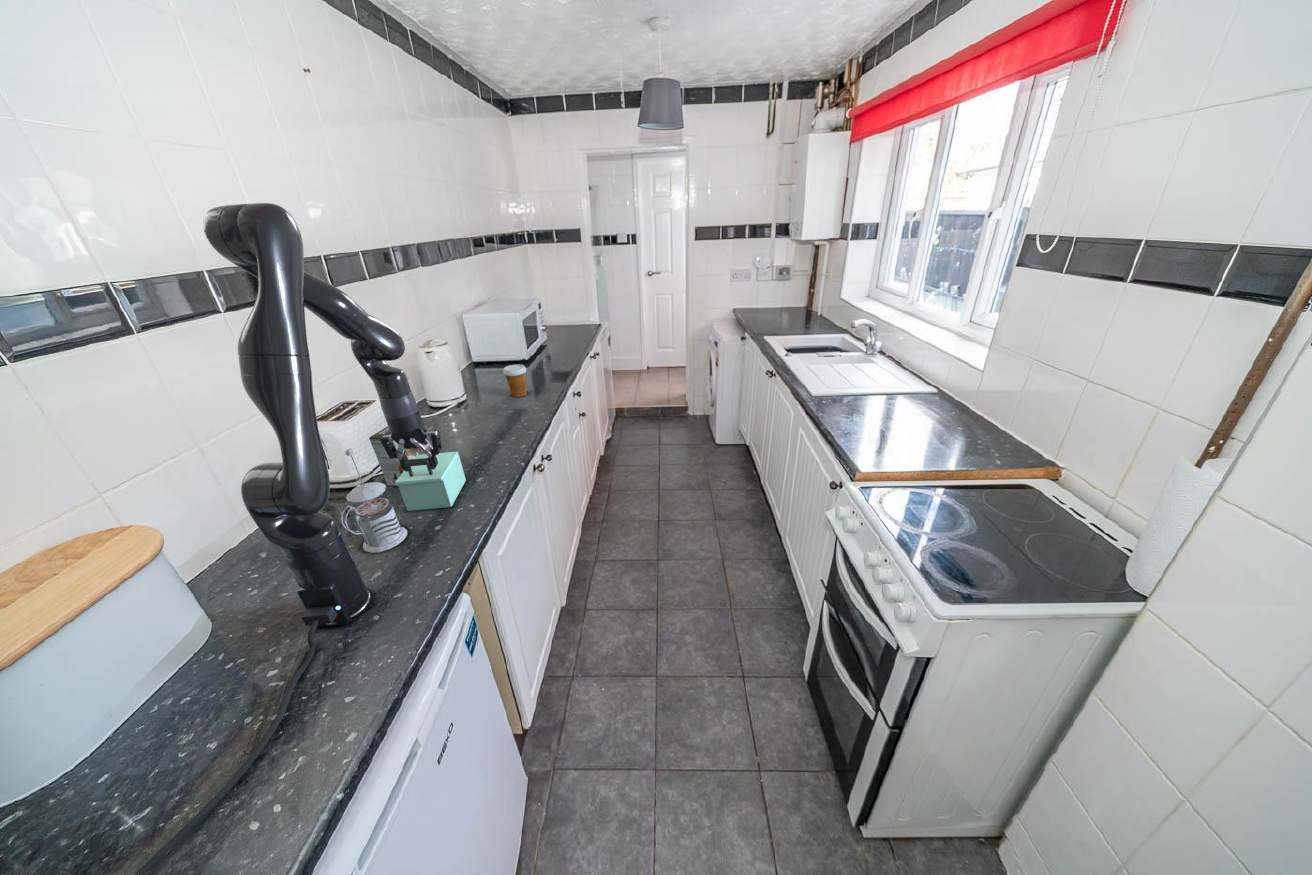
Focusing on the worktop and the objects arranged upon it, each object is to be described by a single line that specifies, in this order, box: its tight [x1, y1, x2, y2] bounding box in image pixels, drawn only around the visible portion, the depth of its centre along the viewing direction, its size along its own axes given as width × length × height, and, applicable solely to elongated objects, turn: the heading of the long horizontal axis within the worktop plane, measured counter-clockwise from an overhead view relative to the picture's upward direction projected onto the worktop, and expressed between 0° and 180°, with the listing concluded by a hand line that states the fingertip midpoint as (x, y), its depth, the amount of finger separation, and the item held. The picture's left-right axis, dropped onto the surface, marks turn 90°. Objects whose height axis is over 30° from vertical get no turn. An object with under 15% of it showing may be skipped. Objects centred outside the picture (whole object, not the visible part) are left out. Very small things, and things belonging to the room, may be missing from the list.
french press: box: [340, 448, 408, 554], centre depth 104 cm, size 10×12×25 cm
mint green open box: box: [397, 453, 467, 512], centre depth 125 cm, size 14×12×9 cm
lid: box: [395, 451, 459, 485], centre depth 122 cm, size 14×12×6 cm
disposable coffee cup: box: [502, 364, 528, 398], centre depth 193 cm, size 10×10×12 cm
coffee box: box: [368, 425, 420, 487], centre depth 133 cm, size 9×6×16 cm
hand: (421, 468), depth 119 cm, fingers closed on lid, 6 cm apart
